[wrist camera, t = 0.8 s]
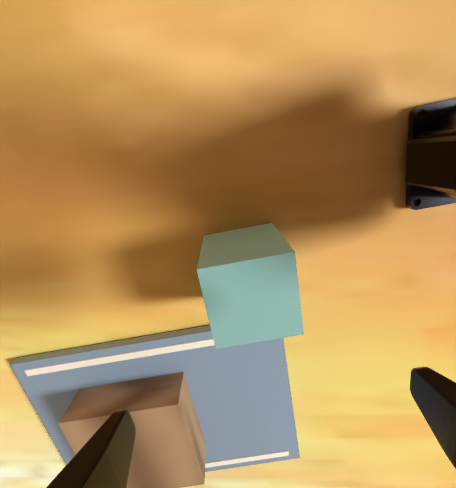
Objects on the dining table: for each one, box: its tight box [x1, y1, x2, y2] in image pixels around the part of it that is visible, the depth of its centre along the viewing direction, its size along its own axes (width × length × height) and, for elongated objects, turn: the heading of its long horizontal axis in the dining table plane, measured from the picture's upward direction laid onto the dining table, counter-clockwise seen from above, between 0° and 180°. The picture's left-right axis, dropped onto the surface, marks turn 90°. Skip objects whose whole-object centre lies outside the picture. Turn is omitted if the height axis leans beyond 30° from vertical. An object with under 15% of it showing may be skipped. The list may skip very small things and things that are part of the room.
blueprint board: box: [10, 325, 300, 472], centre depth 24 cm, size 22×16×1 cm
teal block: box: [196, 223, 304, 349], centre depth 17 cm, size 5×5×6 cm
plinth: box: [58, 372, 206, 488], centre depth 22 cm, size 9×9×3 cm
